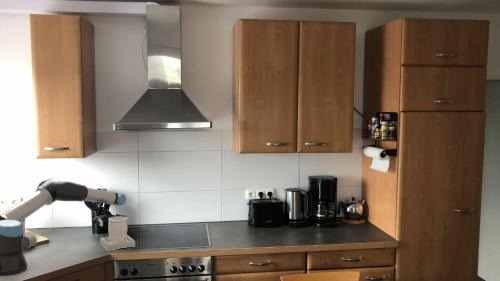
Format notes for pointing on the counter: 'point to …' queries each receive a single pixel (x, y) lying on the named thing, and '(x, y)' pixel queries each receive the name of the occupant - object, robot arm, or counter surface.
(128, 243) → the holder
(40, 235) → the counter surface
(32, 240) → the ceramic mug
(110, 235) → the jar
